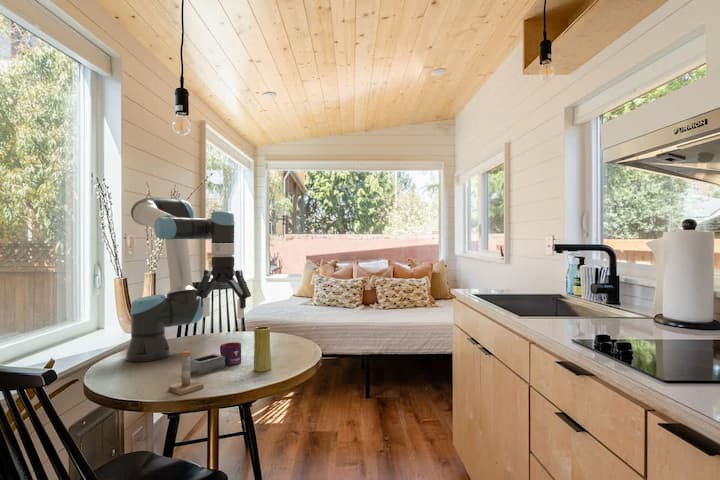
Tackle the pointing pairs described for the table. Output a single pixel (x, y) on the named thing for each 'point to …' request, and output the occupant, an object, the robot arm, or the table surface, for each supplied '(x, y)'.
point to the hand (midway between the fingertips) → (223, 317)
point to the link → (207, 364)
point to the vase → (262, 349)
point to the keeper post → (185, 377)
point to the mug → (231, 353)
